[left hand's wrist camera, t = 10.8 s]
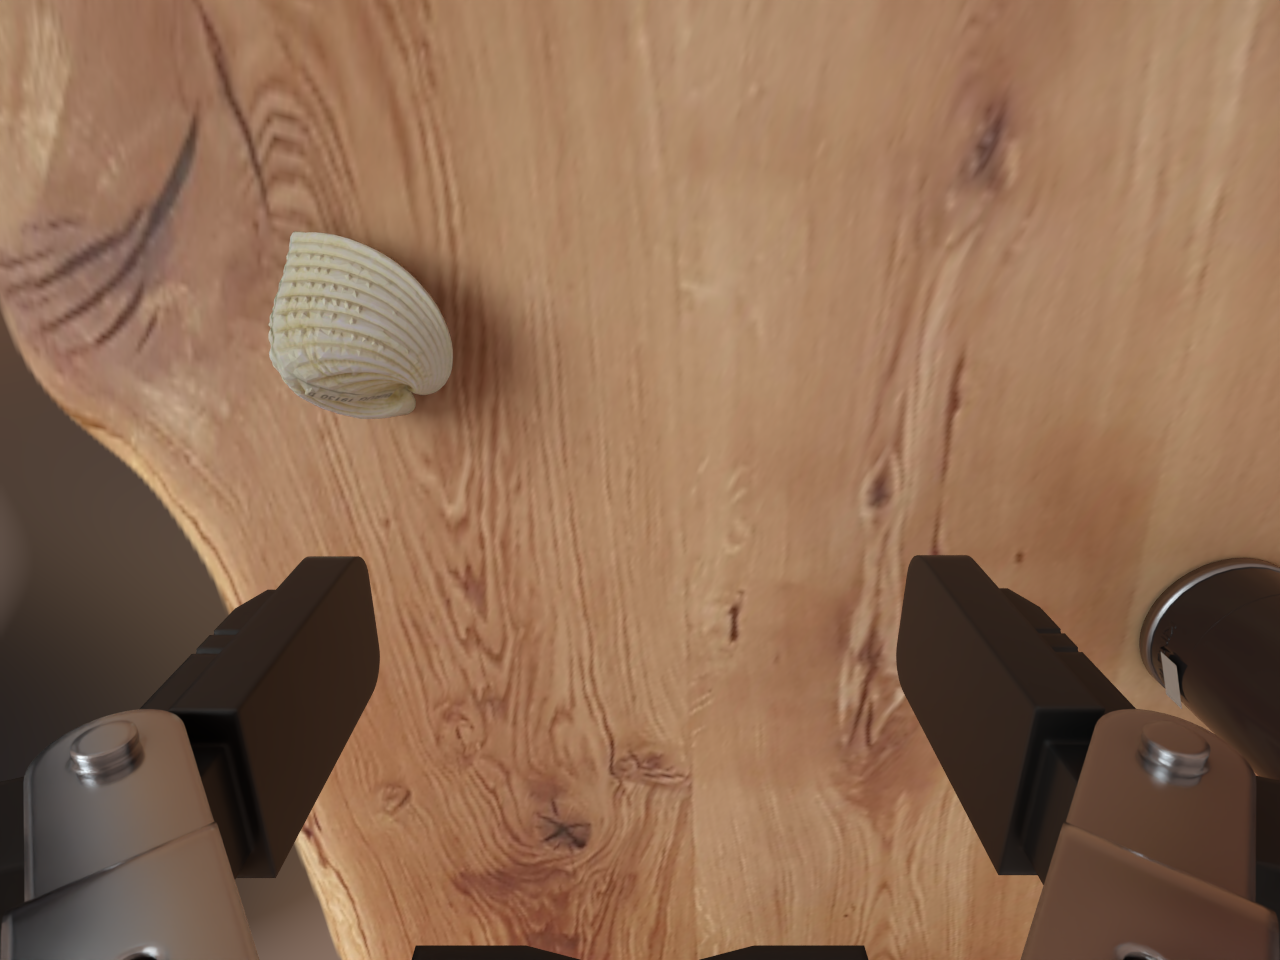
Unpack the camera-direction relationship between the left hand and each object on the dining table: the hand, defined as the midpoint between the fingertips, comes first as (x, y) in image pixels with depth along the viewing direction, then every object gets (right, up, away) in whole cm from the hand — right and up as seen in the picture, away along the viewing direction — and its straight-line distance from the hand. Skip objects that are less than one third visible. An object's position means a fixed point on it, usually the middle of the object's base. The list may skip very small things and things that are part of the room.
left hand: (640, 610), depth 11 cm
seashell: (-13, +10, +28) cm, 32 cm away
